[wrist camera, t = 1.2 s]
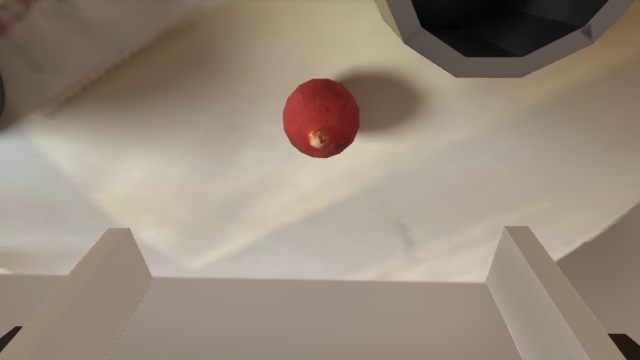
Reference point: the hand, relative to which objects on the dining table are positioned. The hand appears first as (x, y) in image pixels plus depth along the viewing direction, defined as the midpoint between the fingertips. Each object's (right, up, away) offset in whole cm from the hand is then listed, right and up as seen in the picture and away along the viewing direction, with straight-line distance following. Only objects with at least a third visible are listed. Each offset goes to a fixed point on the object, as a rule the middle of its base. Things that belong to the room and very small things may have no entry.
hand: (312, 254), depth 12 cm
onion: (+1, +10, +16) cm, 19 cm away
